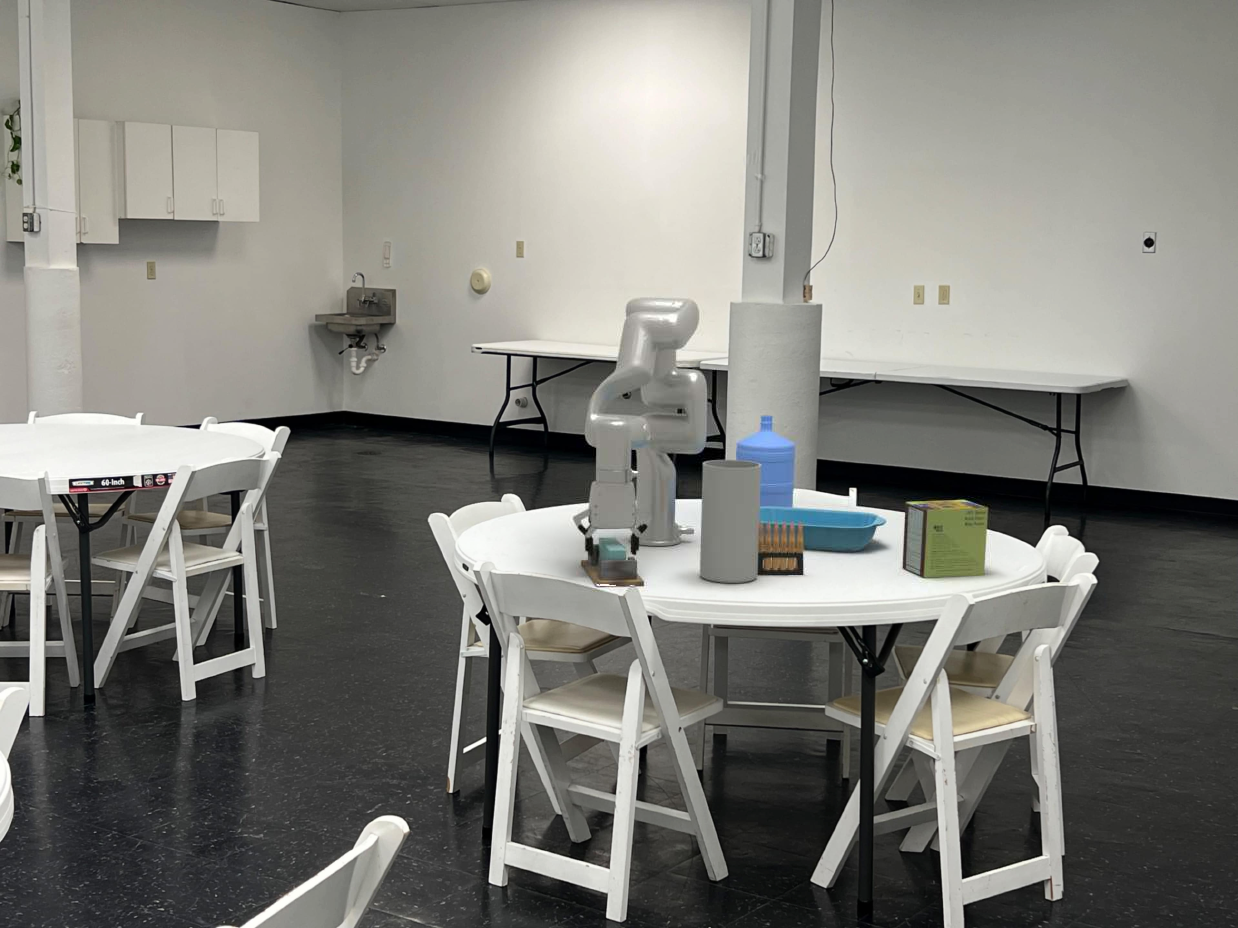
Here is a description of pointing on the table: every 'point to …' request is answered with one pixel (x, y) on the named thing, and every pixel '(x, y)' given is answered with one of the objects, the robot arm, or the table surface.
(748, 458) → the water jug
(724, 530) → the cylinder vase
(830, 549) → the casserole dish
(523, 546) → the table surface
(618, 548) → the teal long block
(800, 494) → the table surface
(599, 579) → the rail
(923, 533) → the protein box
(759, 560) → the ammunition clip
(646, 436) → the robot arm
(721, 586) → the table surface
